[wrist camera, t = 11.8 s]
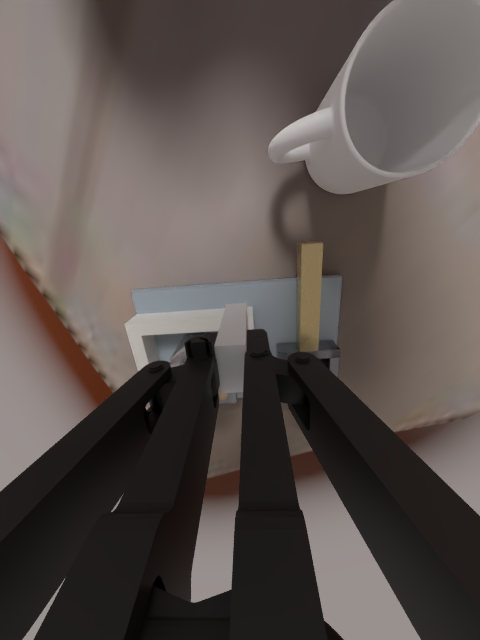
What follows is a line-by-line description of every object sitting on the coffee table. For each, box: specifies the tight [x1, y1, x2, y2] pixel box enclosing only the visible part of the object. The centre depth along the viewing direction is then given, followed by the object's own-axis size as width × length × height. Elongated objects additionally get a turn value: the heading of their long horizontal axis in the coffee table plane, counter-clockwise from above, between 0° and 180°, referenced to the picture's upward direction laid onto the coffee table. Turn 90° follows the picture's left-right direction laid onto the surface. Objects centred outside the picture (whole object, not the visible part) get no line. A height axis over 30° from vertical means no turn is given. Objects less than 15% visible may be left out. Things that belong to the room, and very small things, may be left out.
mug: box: [268, 0, 480, 194], centre depth 18 cm, size 12×8×10 cm
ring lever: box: [276, 241, 340, 378], centre depth 27 cm, size 18×7×2 cm, turn 5°
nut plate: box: [125, 274, 342, 404], centre depth 26 cm, size 16×24×10 cm, turn 95°
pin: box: [169, 332, 210, 367], centre depth 25 cm, size 4×4×10 cm
